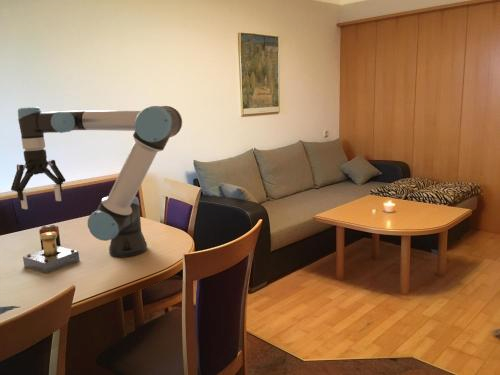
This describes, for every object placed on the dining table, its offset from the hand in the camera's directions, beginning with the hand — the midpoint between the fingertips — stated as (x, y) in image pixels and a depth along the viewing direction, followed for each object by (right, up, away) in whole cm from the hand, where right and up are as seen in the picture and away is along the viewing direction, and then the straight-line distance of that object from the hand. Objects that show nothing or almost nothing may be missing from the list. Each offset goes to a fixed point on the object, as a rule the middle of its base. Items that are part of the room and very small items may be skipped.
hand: (42, 204), depth 162 cm
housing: (+3, -23, +2) cm, 23 cm away
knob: (+3, -23, +2) cm, 23 cm away
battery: (-6, -20, +20) cm, 28 cm away
